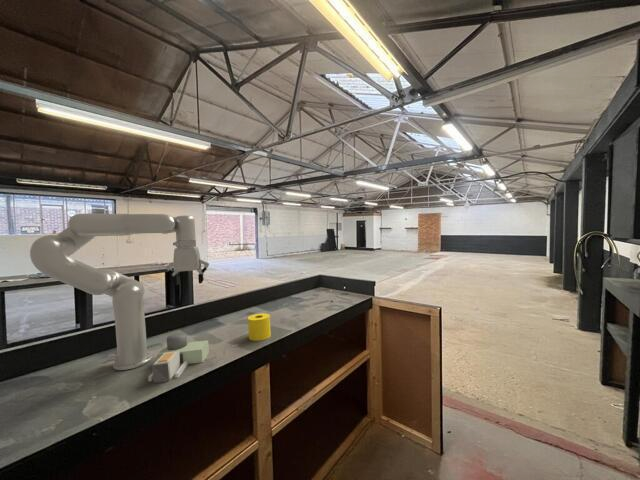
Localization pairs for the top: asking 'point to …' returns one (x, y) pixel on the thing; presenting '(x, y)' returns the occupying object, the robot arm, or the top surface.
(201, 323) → the top surface
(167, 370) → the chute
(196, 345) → the green box with window
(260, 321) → the tape roll
